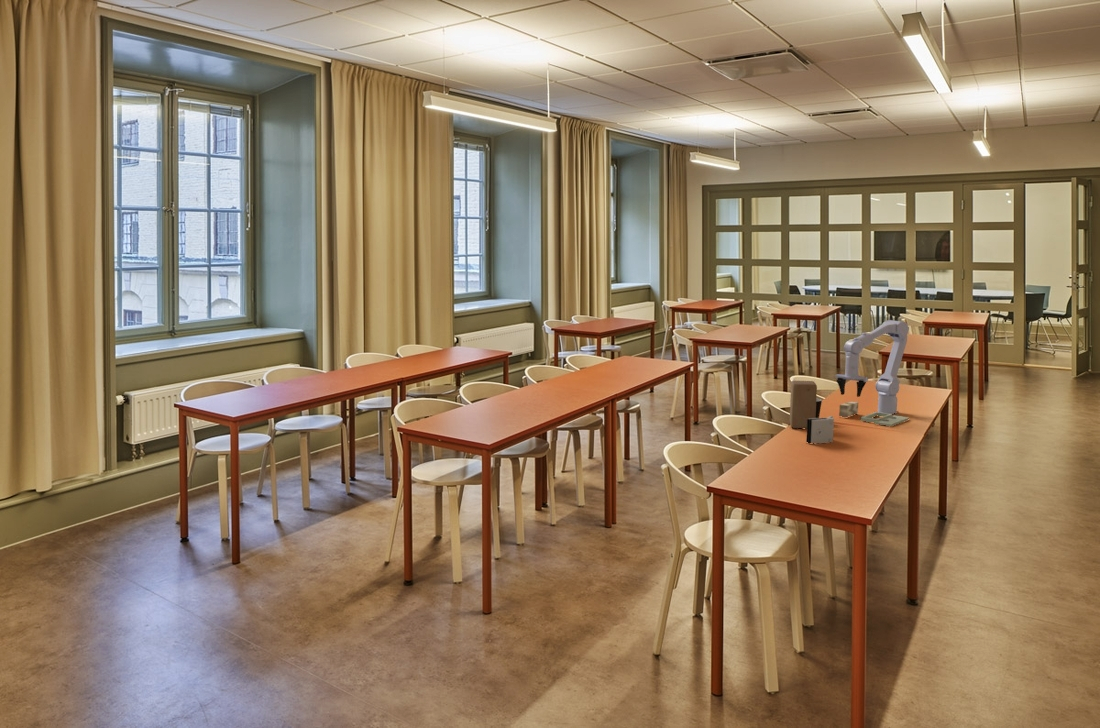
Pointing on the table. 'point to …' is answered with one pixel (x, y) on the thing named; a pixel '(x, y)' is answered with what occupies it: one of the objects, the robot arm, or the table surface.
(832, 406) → the table surface
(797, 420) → the wooden block
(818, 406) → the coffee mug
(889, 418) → the sage cabinet frame
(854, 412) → the birch door
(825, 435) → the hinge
